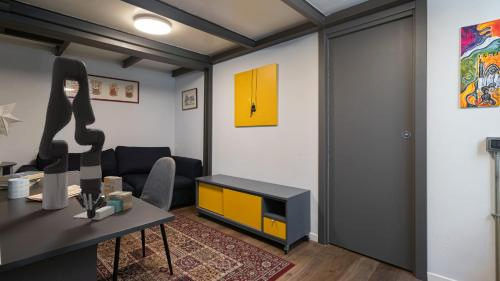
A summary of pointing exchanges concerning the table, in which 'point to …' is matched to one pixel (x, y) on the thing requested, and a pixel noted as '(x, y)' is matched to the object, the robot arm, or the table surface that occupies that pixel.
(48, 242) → the table surface
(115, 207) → the block
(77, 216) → the mat
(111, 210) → the light grey rectangular block
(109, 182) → the supplement box
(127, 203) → the tunnel
